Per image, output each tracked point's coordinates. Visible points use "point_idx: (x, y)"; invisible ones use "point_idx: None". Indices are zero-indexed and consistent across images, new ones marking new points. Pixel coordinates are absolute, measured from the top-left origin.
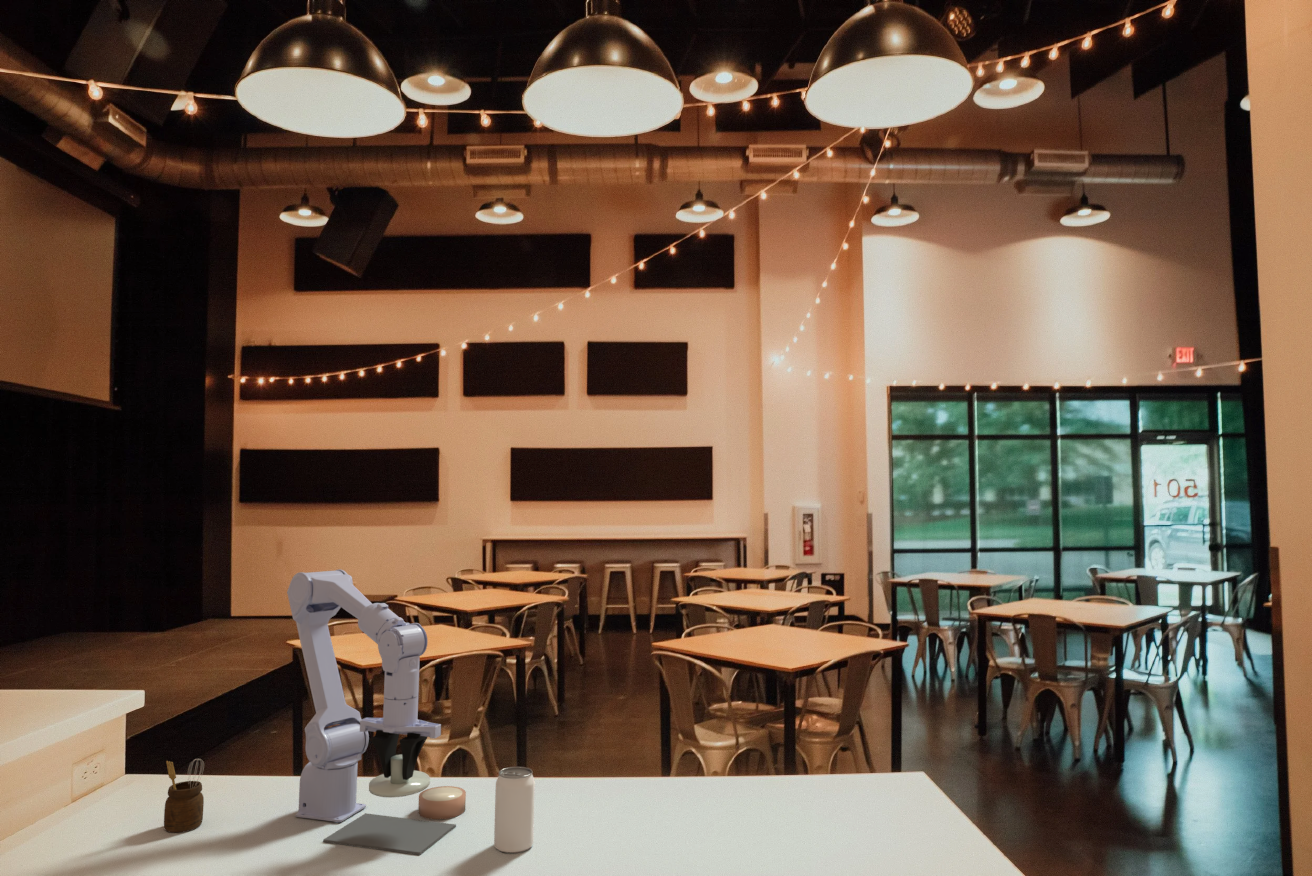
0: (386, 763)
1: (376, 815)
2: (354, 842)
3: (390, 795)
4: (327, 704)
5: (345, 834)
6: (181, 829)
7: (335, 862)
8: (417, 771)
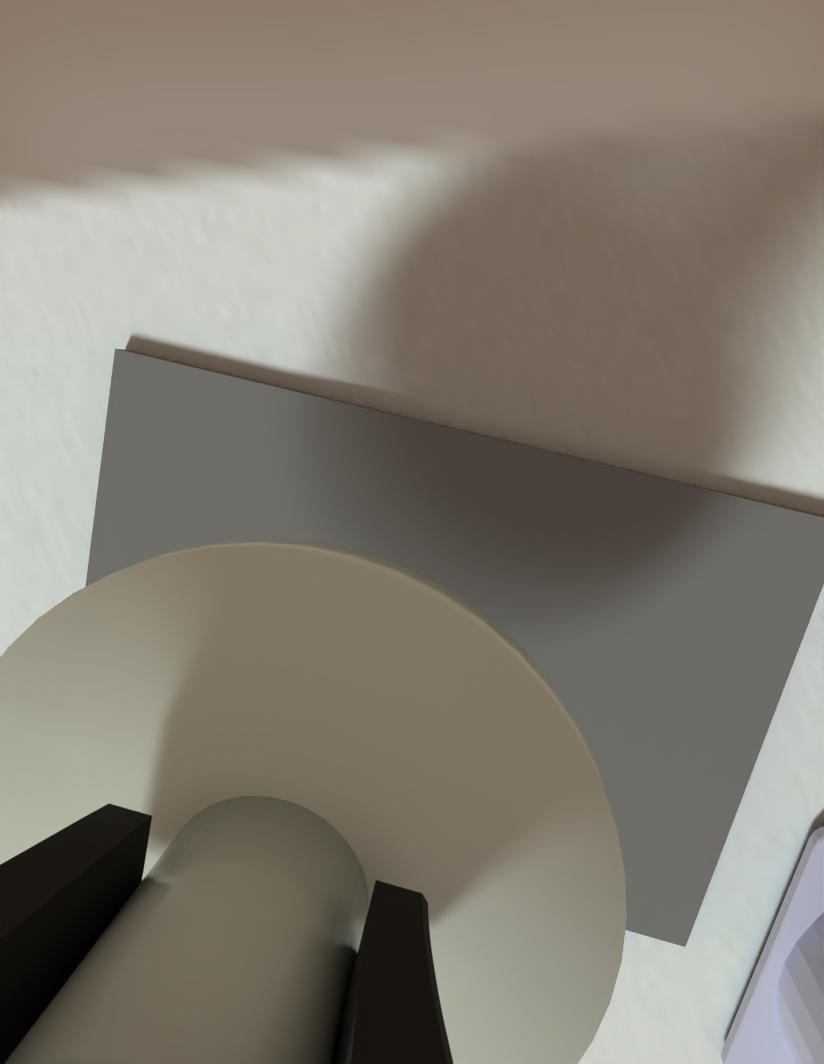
0: (348, 1045)
1: None
2: (599, 480)
3: (253, 539)
4: None
5: (709, 610)
6: None
7: (632, 185)
8: None
